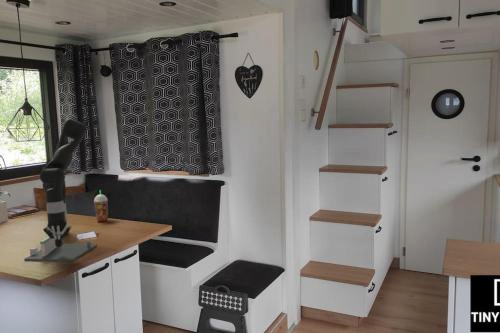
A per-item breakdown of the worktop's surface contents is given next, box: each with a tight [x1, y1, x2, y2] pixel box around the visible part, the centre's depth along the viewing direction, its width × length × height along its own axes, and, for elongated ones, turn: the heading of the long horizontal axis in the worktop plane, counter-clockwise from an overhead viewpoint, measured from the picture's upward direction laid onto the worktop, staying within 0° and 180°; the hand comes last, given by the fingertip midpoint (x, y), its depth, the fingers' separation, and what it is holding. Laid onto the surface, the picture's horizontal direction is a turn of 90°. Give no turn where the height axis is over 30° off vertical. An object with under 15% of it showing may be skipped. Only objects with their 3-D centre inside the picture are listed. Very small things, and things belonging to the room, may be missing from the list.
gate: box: [39, 235, 57, 256], centre depth 209 cm, size 15×2×7 cm, turn 4°
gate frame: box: [23, 240, 98, 263], centre depth 210 cm, size 25×23×10 cm
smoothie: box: [93, 189, 109, 223], centre depth 273 cm, size 8×8×20 cm
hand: (59, 246), depth 204 cm, fingers closed
